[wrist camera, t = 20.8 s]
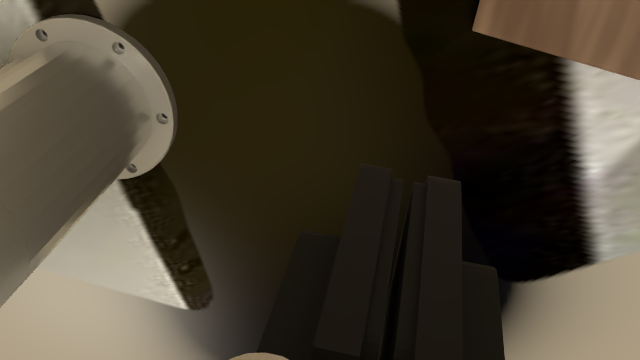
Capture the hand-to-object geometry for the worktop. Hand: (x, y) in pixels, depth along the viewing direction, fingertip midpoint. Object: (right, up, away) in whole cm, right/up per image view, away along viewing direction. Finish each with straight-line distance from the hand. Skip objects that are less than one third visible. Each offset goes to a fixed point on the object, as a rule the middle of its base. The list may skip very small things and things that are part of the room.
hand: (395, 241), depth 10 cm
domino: (+8, +12, +22) cm, 27 cm away
